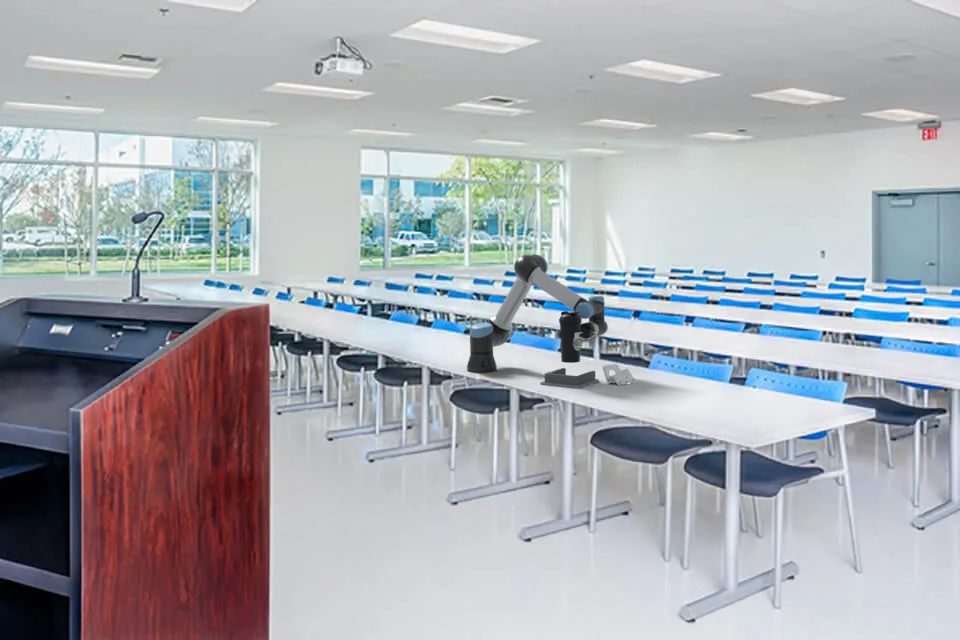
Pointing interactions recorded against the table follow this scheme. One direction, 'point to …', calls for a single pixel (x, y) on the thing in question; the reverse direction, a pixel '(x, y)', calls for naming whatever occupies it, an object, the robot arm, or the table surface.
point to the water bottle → (570, 336)
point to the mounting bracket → (618, 375)
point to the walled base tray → (569, 379)
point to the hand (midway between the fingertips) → (565, 335)
